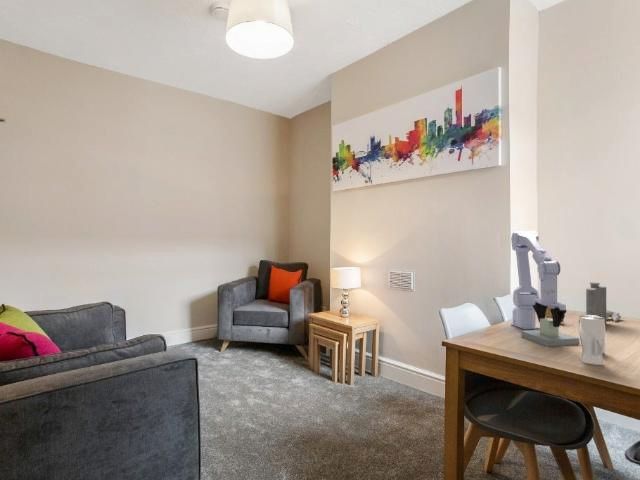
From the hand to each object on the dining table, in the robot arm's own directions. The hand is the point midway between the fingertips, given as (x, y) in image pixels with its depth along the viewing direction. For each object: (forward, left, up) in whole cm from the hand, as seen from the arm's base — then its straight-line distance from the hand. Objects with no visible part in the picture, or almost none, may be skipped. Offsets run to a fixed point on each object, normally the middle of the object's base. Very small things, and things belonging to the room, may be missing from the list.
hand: (548, 324), depth 146 cm
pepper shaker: (+17, +4, -6) cm, 19 cm away
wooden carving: (-28, +27, -7) cm, 39 cm away
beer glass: (+25, -6, -6) cm, 27 cm away
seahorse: (-24, +50, -7) cm, 56 cm away
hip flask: (-17, +39, -6) cm, 43 cm away
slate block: (0, 0, -7) cm, 7 cm away
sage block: (0, 0, -4) cm, 4 cm away
